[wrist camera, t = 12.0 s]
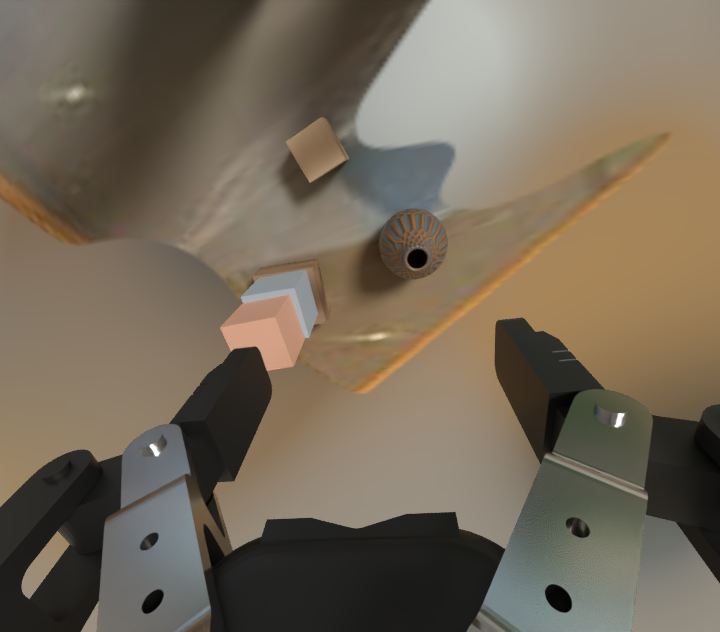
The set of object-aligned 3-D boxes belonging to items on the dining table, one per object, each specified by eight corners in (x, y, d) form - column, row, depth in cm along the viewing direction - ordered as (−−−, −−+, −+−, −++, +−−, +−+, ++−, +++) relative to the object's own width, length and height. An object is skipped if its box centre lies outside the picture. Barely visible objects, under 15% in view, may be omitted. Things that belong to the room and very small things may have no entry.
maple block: (295, 142, 34) (285, 142, 30) (328, 119, 33) (321, 116, 29) (317, 179, 35) (309, 182, 32) (349, 158, 34) (345, 159, 31)
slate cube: (259, 277, 37) (240, 296, 32) (306, 269, 36) (294, 287, 32) (273, 320, 40) (258, 344, 35) (318, 313, 39) (309, 337, 34)
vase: (383, 269, 39) (384, 299, 31) (375, 209, 36) (373, 226, 28) (443, 261, 38) (458, 289, 30) (439, 199, 35) (455, 213, 27)
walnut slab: (262, 266, 40) (252, 276, 37) (317, 258, 39) (312, 267, 36) (278, 317, 43) (270, 330, 40) (330, 310, 42) (326, 323, 39)
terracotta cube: (242, 303, 33) (219, 327, 28) (289, 294, 32) (274, 317, 27) (259, 346, 35) (241, 375, 30) (305, 338, 34) (293, 366, 29)
